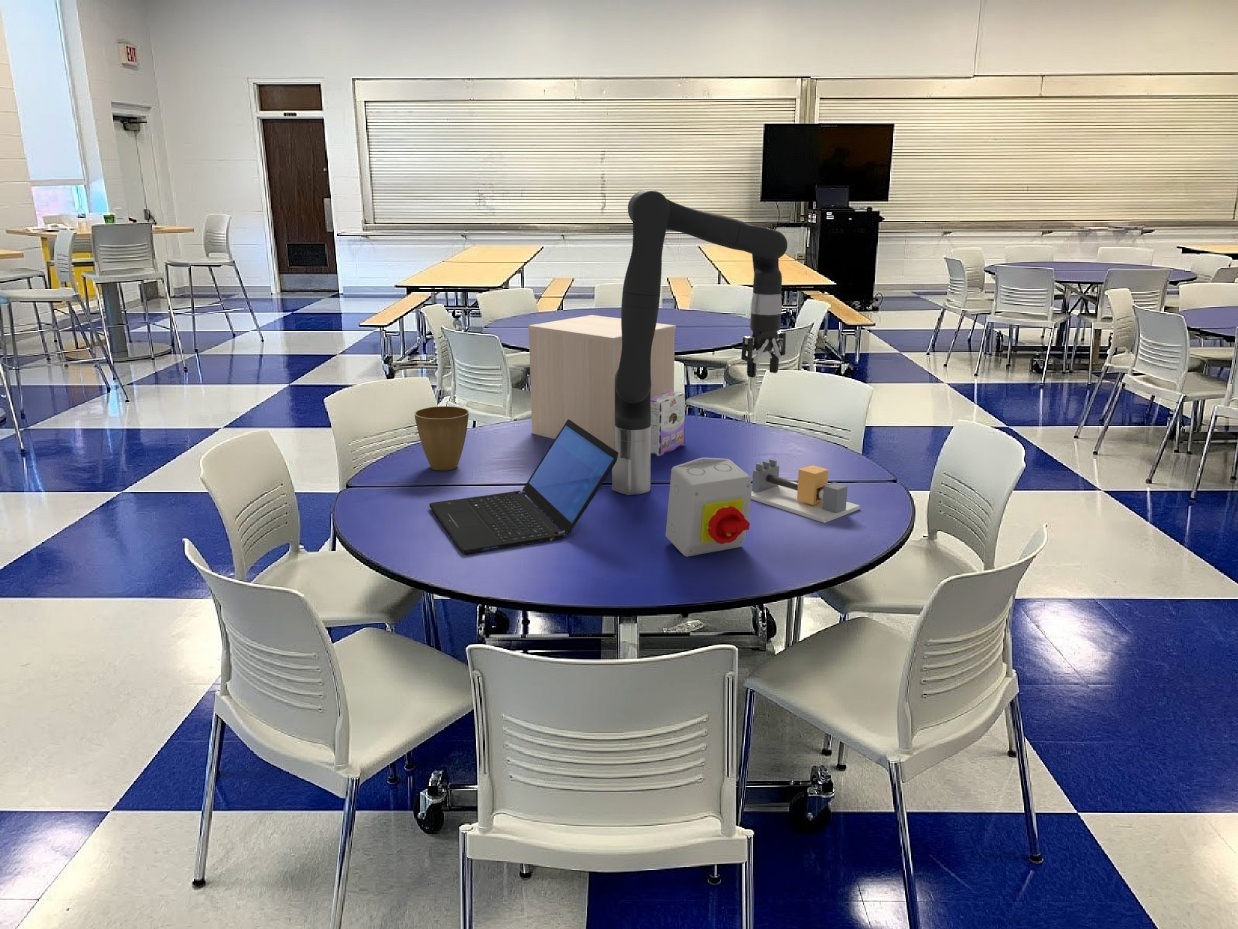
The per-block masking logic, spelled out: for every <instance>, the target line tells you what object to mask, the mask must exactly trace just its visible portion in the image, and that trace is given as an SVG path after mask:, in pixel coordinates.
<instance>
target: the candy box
mask: <svg viewBox="0 0 1238 929" xmlns="http://www.w3.org/2000/svg"><path fill="white" fill-rule="evenodd" d="M685 416H686V393H685V392H679V391H674V392H673V391H668V392H666V393H663V394H660V395H657V396H654V397H652V398H651V456H656V457H660V456H663V455H666V454H667V453H670V452H672V451H674V450H677V449H679V448H681V447H683V446H685V445H686V444H685V440H686V439H685V438H686V436H685V435H686V434H685V433H686V432H685V430H686V429H685V427H686V426H685V425H686V422H685V421H686V419H685V418H686V417H685Z"/></svg>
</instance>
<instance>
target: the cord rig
mask: <svg viewBox="0 0 1238 929" xmlns="http://www.w3.org/2000/svg"><path fill="white" fill-rule="evenodd" d="M777 463H778V462H777V460H776V459H772V458H770V459H769V460H768V461H765V460H763V461H762V463H758V462H756V463H755V469H753V470H752V481H751V491H752V493H751V500H752V501H756V502H758V503H762V504H765V505H767V506H770V507H774V508H777V509H780V510H783V511H786V512H789V513H793V514H796V515H799V516H801V517H805V518H807V519H811V520H814V521H817V522H819V523H820V522H821V523H823V524H826V523H828V522H830V521H831V522H832V521H833V520H836V519H839V518H841V517H843V516H844V517H845V516H846V515H849V514H851V513H853V512H856V511H858V510H860V508H861V507H860V506H861V505H860V504H855V503H852V502H848V501H847V497H848V488H849V486H847V485H845V484H840V483H839V482H836V481H835V482H830V483H827V485H825V486H824V489H822V490H821V489H817V494H816V497H819V498H820V499H823V502H821V503H818V504H815V505H811V504H808V503H805V502H801V501H798V500H797V490H798V481H794V480H791V479H786V478H783V477H780V465H778V464H777Z"/></svg>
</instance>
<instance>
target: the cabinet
mask: <svg viewBox="0 0 1238 929" xmlns="http://www.w3.org/2000/svg"><path fill="white" fill-rule="evenodd" d="M527 330H528V345H529V346H528V347H529V348H528V350H529V372H530V373H529V377H530V378H529V379H530V403H531V404H530V408H531V409H530V411H531V430H530V431H531V434H533V435H537V436H541V437H545V438H549V439H554V440H555V438H556V437H557V435H558V434H559V432H560V431H561V429H562V428H563V426H564V425H565V423H566V421H567V420H568V419H569V420H571V421H572V422H574V423H575V424H577V425H578V426H580V427H581V428H583V429H584V430H586V431H587V432H589V433H590V434H592V435H593V436H595V437H596V438H598V439H599V440H601V441H602V442H603V443H605V444H606V445H608V446H609V447H611V448H612V449H614V450H615V374H616V372H617V370H618V369H619V363H620V358H621V351H622V330H621V317H619V318H618V317H610V316H604V315H603V316H602V315H595V314H589V315H584V316H577V317H571V318H566V319H565V318H564V319H561V320H560V319H559V320H554V321H548V322H547V321H546V322H542V323H536V324H529V325H527ZM676 330H677V326H676V325H674V324H667V323H659V322H657V323H656V328H655V333H654V338H653V342H652V349H651V398H652V397H654V396H657V395H660V394H663V393H666V392H668V391H673V392H675V342H676V341H675V339H676V336H675V333H676Z"/></svg>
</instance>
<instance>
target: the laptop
mask: <svg viewBox="0 0 1238 929" xmlns="http://www.w3.org/2000/svg"><path fill="white" fill-rule="evenodd" d="M618 454H619V453H618V452H617V451H615V450H614V449H612V448H611V447H609V446H608V445H606V444H605V443H603V442H602V441H601V440H599V439H598V438H596V437H595V436H593V435H592V434H590V433H589V432H587V431H586V430H584V429H583V428H581V427H580V426H578V425H577V424H575V423H574V422H572V421H571V420H569V419H568V420H567V421H566V423H565V425H564V426H563V428H562V429H561V431H560V432H559V434H558V435H557V437H556V438H555V439H554V440H553V441H552V443H551V444H550V446H549V447H548V449H547V451H546V452H545V454H544V455H543V457H542V458H541V460H540V462H539V463H538V465H537V466H536V467H535V470H534V471H533V472H532V474H531V476H530V477H529V479H528V480H527V482H526V484H525V485H524V486H523V488H522V491H521V490H514V491H512V490H511V491H507V492H505V491H504V492H500V493H499V492H498V493H493V494H487V495H486V494H485V495H479V496H472V497H465V498H457V499H449V500H440V501H434V502H429V504H428V506H429V509H431V511H432V513H434V515H435V516H436V518H437V519H438V520H439V522H440V523H441V525H442V526H443V528H444V530H445V531H446V532H447V533H448V534H449V536H450V537H451V539H452V541H453V542H454V544H455V545H456V546H457V547H458V549H459V551H461V553H463V554H464V555H469V554H470V555H473V554H478V553H485V552H490V551H494V550H500V549H505V548H512V547H518V546H519V547H520V546H526V545H531V544H537V543H538V544H539V543H543V542H554V541H556V540H560V539H564V538H565V537H566V535H567V536H569V535H570V534H571V532H572V530H574V528H575V526H576V524H577V523H578V521H579V520H580V518H581V517H582V515H583V514H584V512H585V511H586V510H587V508H588V506H589V504H590V503H591V502H592V500H593V499H594V498H595V496H596V494H597V493H598V491H599V490H600V488H601V486H602V485H603V483H604V482H605V480H606V479H607V477H608V476H609V475H610V473H611V472H612V468H613V466H614V465H615V463H616V461H617V458H618Z"/></svg>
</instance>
